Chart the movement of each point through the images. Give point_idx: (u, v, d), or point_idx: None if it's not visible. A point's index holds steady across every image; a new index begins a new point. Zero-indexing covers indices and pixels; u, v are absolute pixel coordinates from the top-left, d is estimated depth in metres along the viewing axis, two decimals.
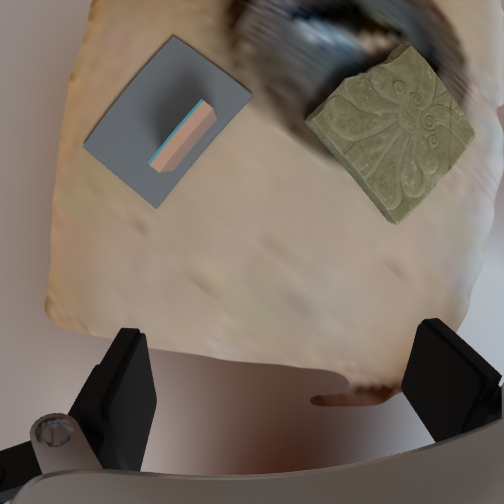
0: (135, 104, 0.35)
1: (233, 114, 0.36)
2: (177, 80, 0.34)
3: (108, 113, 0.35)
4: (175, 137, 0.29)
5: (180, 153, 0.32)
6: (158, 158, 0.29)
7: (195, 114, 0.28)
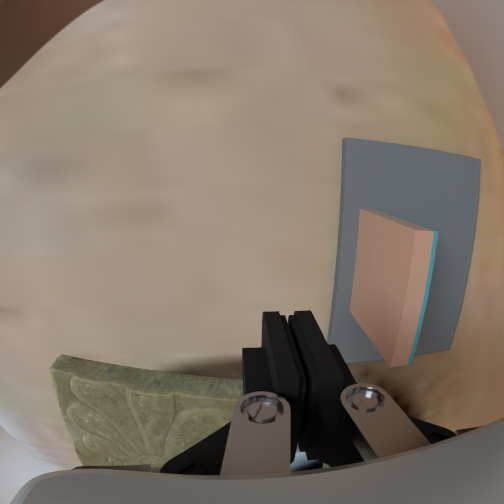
0: (452, 253, 0.24)
1: (334, 330, 0.25)
2: None
3: (474, 220, 0.23)
4: (419, 297, 0.16)
5: (383, 260, 0.18)
6: (427, 250, 0.15)
7: (409, 343, 0.16)
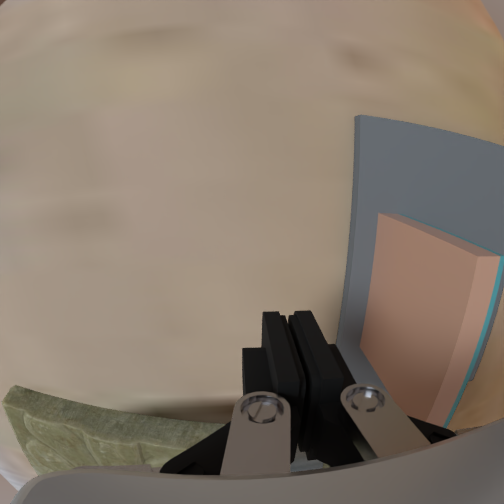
0: None
1: None
2: None
3: None
4: (470, 351, 0.09)
5: (417, 291, 0.12)
6: (489, 285, 0.09)
7: (446, 410, 0.10)
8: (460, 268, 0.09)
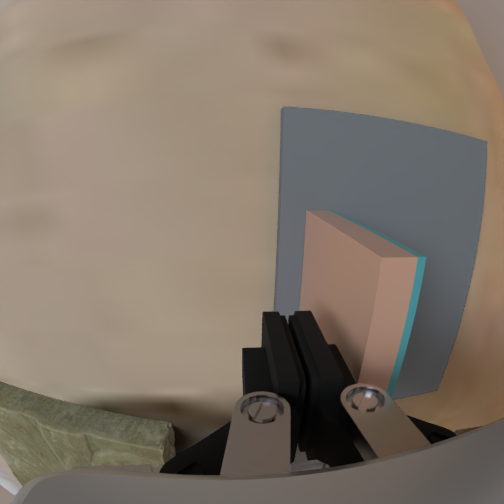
0: (446, 271, 0.17)
1: None
2: None
3: (478, 225, 0.16)
4: (386, 367, 0.09)
5: (333, 296, 0.12)
6: (404, 292, 0.08)
7: None
8: (366, 271, 0.09)
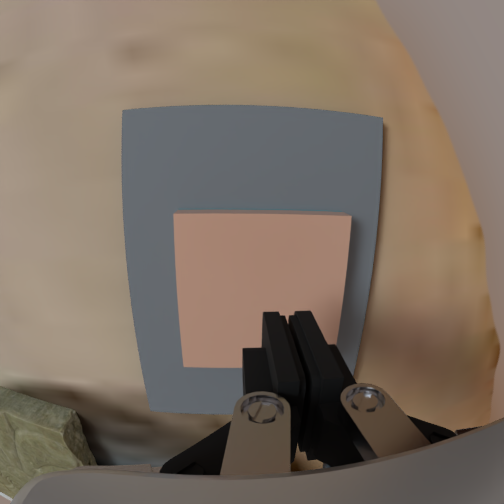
0: None
1: (144, 372, 0.18)
2: None
3: (373, 219, 0.16)
4: None
5: (280, 267, 0.15)
6: None
7: None
8: (335, 229, 0.14)
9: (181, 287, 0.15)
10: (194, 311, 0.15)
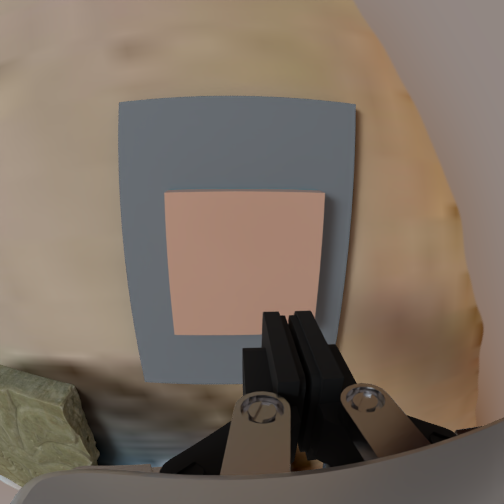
0: None
1: (139, 343, 0.20)
2: None
3: (348, 197, 0.18)
4: None
5: (260, 240, 0.16)
6: None
7: None
8: (309, 205, 0.16)
9: (171, 259, 0.16)
10: (183, 281, 0.17)
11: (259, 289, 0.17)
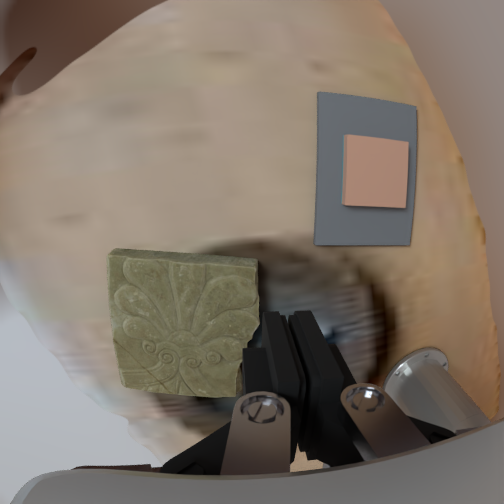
0: None
1: (318, 217, 0.37)
2: (381, 210, 0.37)
3: (414, 147, 0.35)
4: None
5: (384, 159, 0.34)
6: None
7: None
8: (403, 146, 0.34)
9: (348, 164, 0.34)
10: (352, 176, 0.34)
11: (384, 182, 0.35)
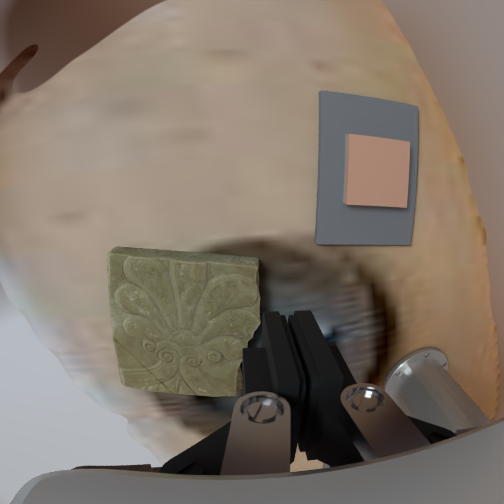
0: None
1: (319, 216, 0.37)
2: (382, 210, 0.37)
3: (416, 146, 0.35)
4: None
5: (386, 159, 0.34)
6: None
7: None
8: (404, 146, 0.34)
9: (350, 164, 0.34)
10: (354, 175, 0.34)
11: (385, 182, 0.35)
